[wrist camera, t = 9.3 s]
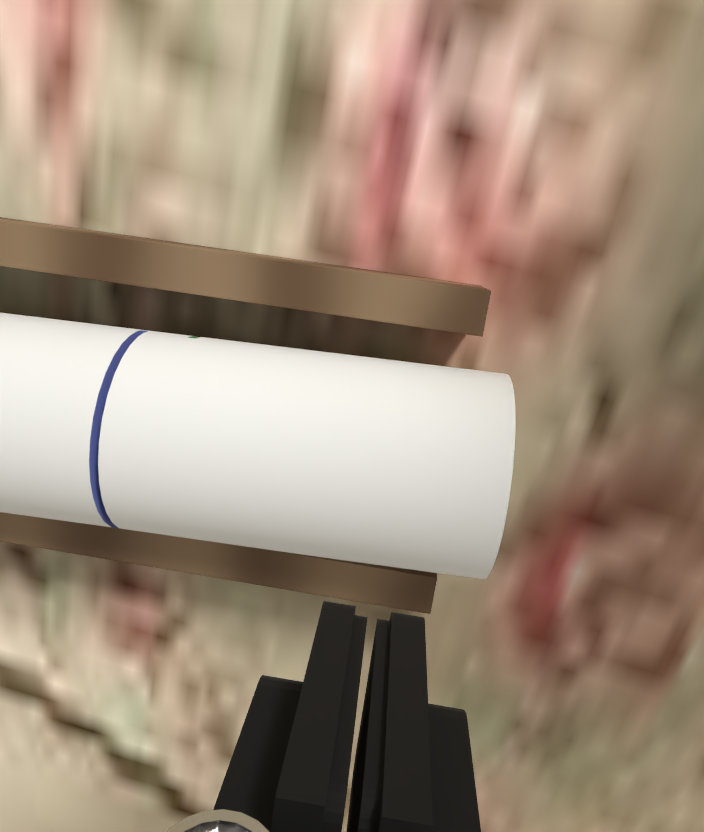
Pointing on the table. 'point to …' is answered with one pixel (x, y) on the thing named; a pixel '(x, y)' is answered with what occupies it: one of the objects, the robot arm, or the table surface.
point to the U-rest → (255, 284)
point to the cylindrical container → (256, 444)
